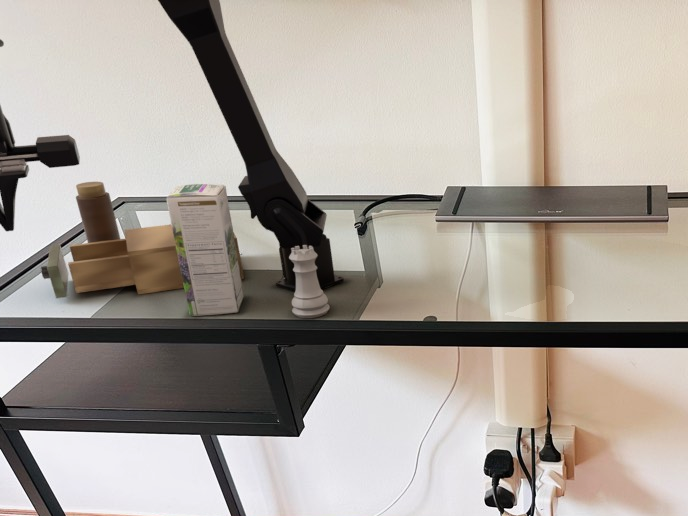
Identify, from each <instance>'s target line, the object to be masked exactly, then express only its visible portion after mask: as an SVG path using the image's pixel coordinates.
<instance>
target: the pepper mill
mask: <svg viewBox="0 0 688 516" xmlns="http://www.w3.org/2000/svg"><path fill="white" fill-rule="evenodd" d="M75 188H76V191H77V195H76V196H75V200H76V203H77V207H78V211H79V215H80V218H81V222H82V226H83V230H84V234H85V237H86V240H87V243H93V242H101V241H109V240H117V239H121V235H120V231H119V226H118V224H117V220H116V216H115V211H114V207H113V204H112V199H111V194H110V193H109V192H106V188H105V183H104V182H102V181H86V182H81V183H78V184H76V185H75Z"/></svg>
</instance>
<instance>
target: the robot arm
mask: <svg viewBox="0 0 688 516" xmlns="http://www.w3.org/2000/svg"><path fill="white" fill-rule="evenodd" d="M157 1H158V3H159V5H160V6H161V7H162V9H163V11H164V12H165V13H166V15H167V17H168V19H170V21H171V22H172V23H173V25H174V26H175V27H176V28H177V29H178V31H179V32H180V33H181V34H182V36H183V37H184V38H185V40H187V42H188V44H189V45H190V47H191V49H192V51H193V54H194V55H195V58H196V60H197V62H198V64H199V66H200V69H201V71H202V73H203V75H204V77H205V80H206V82H207V84H208V86H209V88H210V90H211V92H212V94H213V97H214V99H215V101H216V104H217V105H218V108H219V110H220V113H221V115H222V116H223V118H224V121H225V124H226V125H227V127H228V130H229V131H230V134H231V136H232V139H233V140H234V143H235V144H236V148H237V149H238V151H239V154H240V156H241V158H242V160H243V162H244V165H245V170H246V175H245V176H243V179H242V180H241V182H240V183H239V184H238V186H237V189H238V190H239V192H240V194H241V196H242V197H243V198H244V200H245V201H246V203H247V205H248V207H249V210H250V219H252V220H253V219H256V218H257V220H258V222H259V224H260V225H261V226H262V227H263V228H264V229H265V230H266V231H270V232H272V233H273V235H274V236H275V239H276V240H277V241H278V247H279V248H278V252H279V258H280V259H279V260H280V265H281V270H282V271H281V272H282V276H283V278H282V279H279V280H276V281H275V286H277V287H278V288H282V289H285V290H290V291H293V292H295V291H296V275H295V272H294V271H293V268H294V263H293V262H292V261H291V260H290V259H289V256H290V255H291V253H292V252H291V248H295V246H299V247H300V249H303V245H307V249H309V246H313V250H314V252H315V253H316V254H317V255H318V256H317V258H316V259H315V265H316V266H317V269H316V274H317V279H318V282H319V286H320V288H321V290H324V289H327V288H330V287H332V286H335V285H338V284H340V283H343V282H345V277H344V276H340V275H336V274H335V270H334V263H333V255H332V247H331V240H330V238H328V237H327V235H326V234H324V232H325V227H326V221H327V216H328V215H327V212H325V210H323V209H321V208H320V207H319V206H318V205H316V204H315V203H314V202H313V201H311V200H310V198H308V194H307V191H306V190H305V188H304V187H303V184H301V182H300V179H298V177H297V175H296V174H295V172H294V171H293V169H292V168H291V166H290V165H289V164H288V162H286V160H285V159H284V158H283V157H282V155H281V154H280V153H279V152H278V150H277V149H276V146H275V144H274V142H273V139H272V137H271V135H270V133H269V130H268V127H267V126H266V123H265V121H264V119H263V117H262V114H261V111H260V110H259V107H258V105H257V103H256V100H255V98H254V95H253V94H252V91H251V89H250V87H249V84H248V82H247V80H246V77H245V75H244V72H243V71H242V70H243V69H242V68H241V65H240V64H239V61H238V59H237V56H236V55H235V52H234V50H233V47H232V45H231V42H230V41H229V38H228V35H227V33H226V28H225V23H224V18H223V17H224V16H223V11H222V6H221V1H220V0H157ZM4 45H5V43H4V41H3V40H2V39H1V38H0V48H2V47H3V46H4ZM15 144H16V140H15V137H14V134H13V131H12V126H11V123H10V121H9V119H8V118H7V117H6V115H5V114H4V112H3V109H2V105H1V104H0V199H1V202H0V226H1V227H2V228H3V230H4V231H5V232H13V231H14V230H15V216H16V215H15V214H16V195H17V189H18V184H19V179H25V178H27V177H28V175H29V172H30V167H29V164H28V163H31V162H40V164H43V165H45V166H46V167H47V168H49V169H52V168H53V169H54V168H64V167H74V166H79V165H80V161H81V157H80V156H81V155H80V153H79V148H78V143H77V141H76V139H75V138H74V137H72V136H71V135H70V134H64V135H63V134H62V135H50V136H49V135H48V136H37V138H36V141H35V144H28V145H15Z"/></svg>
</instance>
